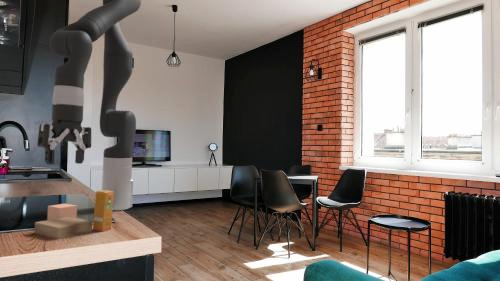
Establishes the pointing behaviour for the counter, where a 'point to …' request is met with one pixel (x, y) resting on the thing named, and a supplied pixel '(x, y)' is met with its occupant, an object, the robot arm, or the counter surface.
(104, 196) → the supplement box
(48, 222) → the tan flat block
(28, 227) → the counter surface
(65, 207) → the terracotta block
